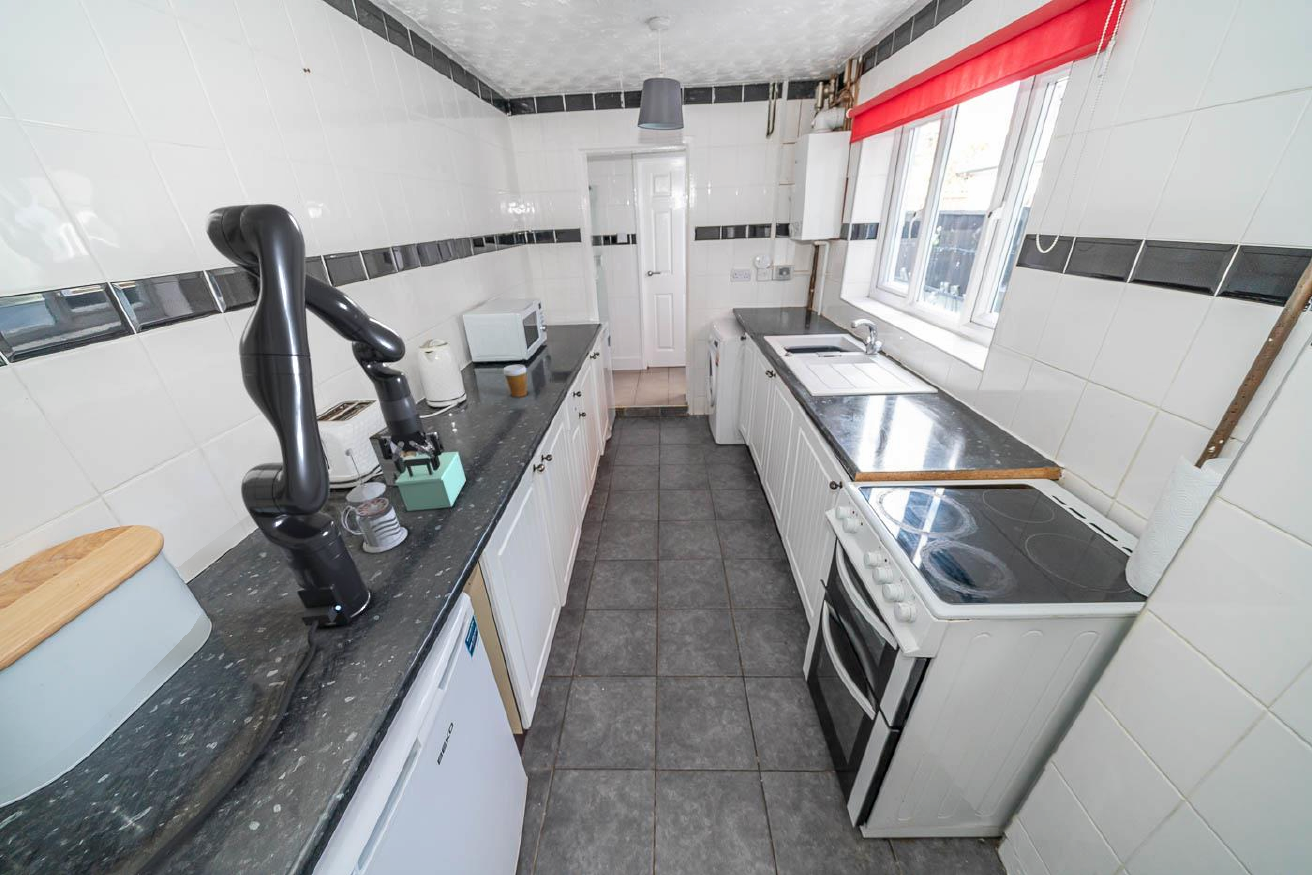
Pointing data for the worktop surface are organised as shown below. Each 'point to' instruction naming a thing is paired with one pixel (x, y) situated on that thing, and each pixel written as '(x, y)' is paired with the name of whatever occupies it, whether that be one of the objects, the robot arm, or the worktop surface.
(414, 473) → the lid
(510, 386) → the disposable coffee cup
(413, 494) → the mint green open box
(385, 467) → the coffee box
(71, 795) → the worktop surface
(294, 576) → the robot arm
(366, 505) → the french press
